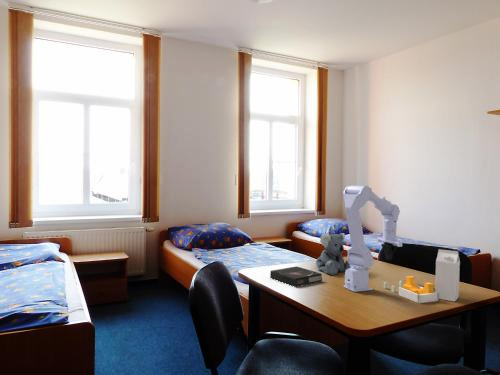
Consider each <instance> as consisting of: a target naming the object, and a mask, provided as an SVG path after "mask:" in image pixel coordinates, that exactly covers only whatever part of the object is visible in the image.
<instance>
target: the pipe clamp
mask: <svg viewBox="0 0 500 375" xmlns="http://www.w3.org/2000/svg"><path fill="white" fill-rule="evenodd" d="M434 285H435V283H432V282H429V281H428V282H424V286H423V289H422V290H421V289H420V288H418V286H419V285H417V282H416V280H415V276H412V275H407V276H405V283H404V284H403V283H402V287H401V288H404V289H406V290H409V291H411V292H414V293H416V294H419V295H420V294H429V293H433V291H434V289H435V287H434Z"/></svg>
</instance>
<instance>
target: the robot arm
mask: <svg viewBox="0 0 500 375" xmlns="http://www.w3.org/2000/svg"><path fill="white" fill-rule="evenodd" d="M342 194H343V201H344V208H345V216H346V222H347V226H348V233H349V237H350V238H349V239H350V244H351V246H350V247H349V248H348V249H347V251H346V252H347V256H346V258H347V259H346V261H348V263H349V264H350V267H351V268H349V269H347V270H346V271H345V272H344V285H343V288H345V289H347V290H350V291H352V292H366V291H373V289H374V288H372V287H370V286H369V276H370V275H369V273H370V269H371V268H372V267H373V265H374V263H375V260H374V256H373V255H372V254H373V253H372V251H371V249H370V248H369V247H368V246H367V245H366V243H365V238H364V231H363V226H362V220H361V219H362V218H361V213H360V209H361V208H364V206H365V205H366V204H367V203H368V201H369V202H370V203H372V204H373V207H374V208H375V209H376V210H378V211H379V212H380V214H381V216H383V218H382V222H383V223H382V224H383V225H382V226H383V227H382V236H379V237H378V236H377V237H376V239H377V240H376V241H377V242H379V243H380V242H381V243H382V244H381V245H380V246H381V247H382V249H383V252H384V253H383V254H384V255H385V259H386V261H391V260H393V256H394V253H395V251H396V249H397V248H399V247H401V248H402V247H403V242H402V241H400V240H398V238H397V221H399V215H400V207H399V206H398V205H397V204H394V203H392V202H391V201H389V200H387V199H386V196H379V195H377V194H376V193H375V192H374V191H373V189H372V187H369V185H351V184H348V185H347V186H346V187H345V188H344V190H343V192H342Z"/></svg>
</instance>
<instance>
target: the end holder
mask: <svg viewBox="0 0 500 375" xmlns="http://www.w3.org/2000/svg"><path fill="white" fill-rule="evenodd" d="M417 286H418V288H420V289H421V290H422V289H423V288H424V286H420V285H417ZM398 296H400V297H403V298H405V299H408V300H410V301H412V302H415V303H417V304H423V303H432V302H438V301H439V293H437V292H435V290H433V293H429V294H420V295H419V294H416V293H414V292H411V291H409V290H406V289H404V288H402V287H399V286H398Z"/></svg>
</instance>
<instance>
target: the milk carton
mask: <svg viewBox="0 0 500 375" xmlns="http://www.w3.org/2000/svg"><path fill="white" fill-rule="evenodd" d="M437 250H438V251H437V257H436V259H435V281H434V282H435V283H434V285H435V287H434V289H435V290H434V292H437V293H439V298H438V300H439V299H440V300H443V301H444V300H445V301H450V302H456V301H457V299H458V298H459V296H460V266H461V261H460V256H459V255H460V254H459V251H457V250H448V249H441V248H439V249H437Z"/></svg>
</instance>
